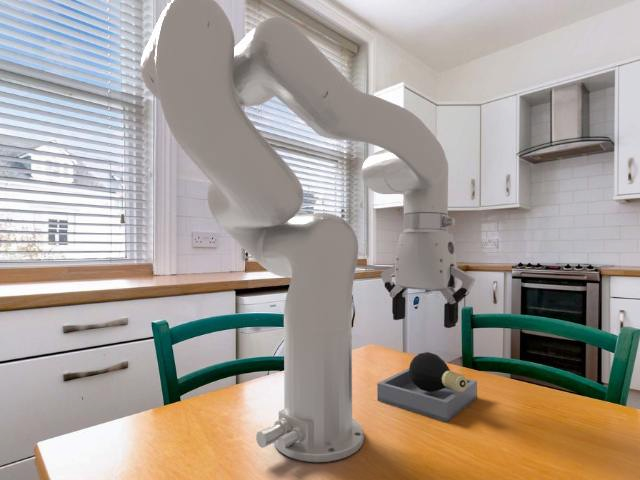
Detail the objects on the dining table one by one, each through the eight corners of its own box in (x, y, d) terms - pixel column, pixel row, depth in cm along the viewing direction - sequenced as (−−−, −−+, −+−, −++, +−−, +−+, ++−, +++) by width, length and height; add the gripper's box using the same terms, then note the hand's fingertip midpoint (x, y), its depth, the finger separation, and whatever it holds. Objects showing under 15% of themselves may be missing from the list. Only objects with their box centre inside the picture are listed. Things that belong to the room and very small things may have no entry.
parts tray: (446, 422, 58) (446, 402, 58) (377, 400, 67) (377, 383, 67) (477, 397, 68) (477, 380, 68) (412, 381, 76) (412, 366, 76)
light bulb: (463, 353, 61) (419, 342, 72) (437, 383, 58) (395, 367, 70) (486, 384, 62) (439, 368, 73) (461, 415, 59) (416, 394, 71)
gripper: (482, 225, 65) (481, 327, 64) (393, 228, 76) (391, 314, 76) (465, 221, 59) (463, 333, 58) (372, 225, 71) (370, 318, 70)
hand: (423, 322), depth 67 cm, fingers open, 9 cm apart
